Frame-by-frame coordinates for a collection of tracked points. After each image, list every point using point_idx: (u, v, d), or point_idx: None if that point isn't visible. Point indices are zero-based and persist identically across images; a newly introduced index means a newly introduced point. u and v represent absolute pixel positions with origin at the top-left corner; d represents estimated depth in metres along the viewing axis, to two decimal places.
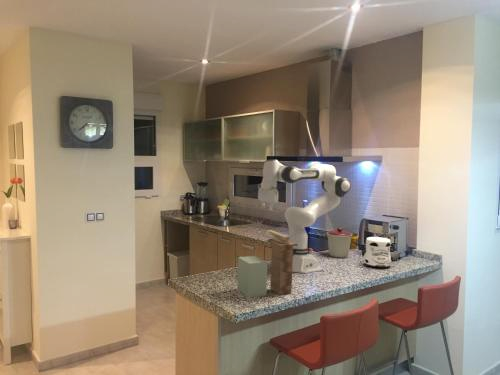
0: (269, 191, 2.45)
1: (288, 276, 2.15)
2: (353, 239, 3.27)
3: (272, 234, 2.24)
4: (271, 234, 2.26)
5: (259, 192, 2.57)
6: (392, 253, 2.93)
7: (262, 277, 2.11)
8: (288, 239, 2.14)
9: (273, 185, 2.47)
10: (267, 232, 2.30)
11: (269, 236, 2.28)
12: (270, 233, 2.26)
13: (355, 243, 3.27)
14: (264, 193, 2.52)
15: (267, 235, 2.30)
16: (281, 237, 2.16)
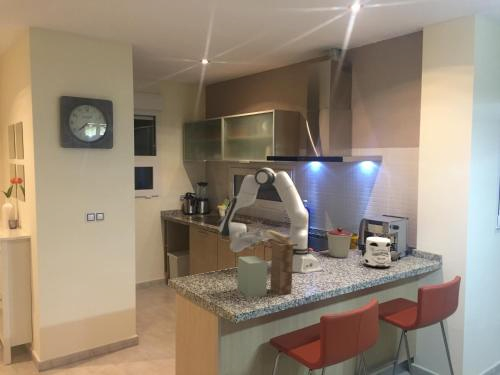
0: (239, 241, 2.56)
1: (288, 276, 2.15)
2: (353, 239, 3.27)
3: (272, 234, 2.24)
4: (271, 234, 2.26)
5: (259, 240, 2.60)
6: (392, 253, 2.93)
7: (262, 277, 2.11)
8: (288, 239, 2.14)
9: None
10: (267, 232, 2.30)
11: (269, 236, 2.28)
12: (270, 233, 2.26)
13: (355, 243, 3.27)
14: None
15: (267, 235, 2.30)
16: (281, 237, 2.16)
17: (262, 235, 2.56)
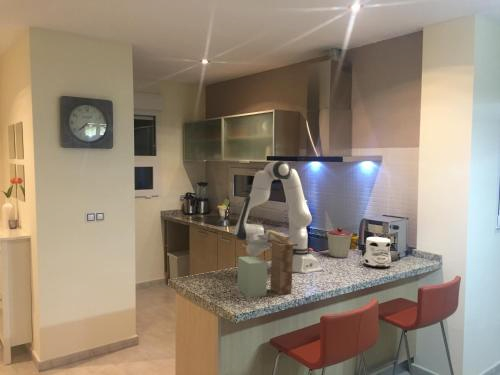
0: (257, 244, 2.34)
1: (288, 276, 2.15)
2: (353, 239, 3.27)
3: (272, 234, 2.24)
4: (271, 234, 2.26)
5: None
6: (391, 253, 2.92)
7: (262, 277, 2.11)
8: (288, 239, 2.14)
9: None
10: (267, 232, 2.30)
11: (269, 236, 2.28)
12: (270, 233, 2.26)
13: (355, 243, 3.27)
14: None
15: None
16: (281, 237, 2.16)
17: None
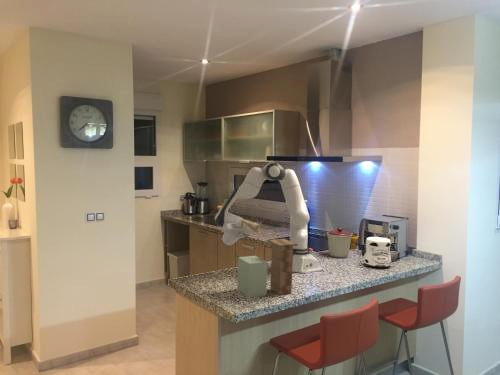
0: (231, 232, 2.42)
1: (288, 276, 2.15)
2: (353, 239, 3.27)
3: (244, 223, 2.33)
4: (243, 223, 2.34)
5: (252, 231, 2.46)
6: (391, 253, 2.92)
7: (262, 277, 2.11)
8: (258, 227, 2.22)
9: None
10: (240, 221, 2.38)
11: (242, 225, 2.36)
12: (243, 222, 2.35)
13: (355, 243, 3.27)
14: (243, 231, 2.44)
15: None
16: (252, 225, 2.24)
17: None
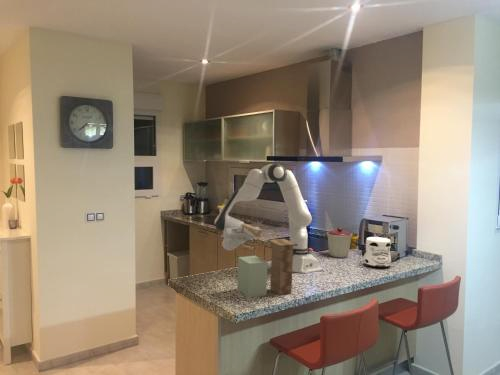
0: (231, 237, 2.28)
1: (288, 276, 2.15)
2: (353, 239, 3.27)
3: (246, 227, 2.19)
4: (245, 227, 2.20)
5: (253, 236, 2.32)
6: (390, 254, 2.91)
7: (262, 277, 2.11)
8: (261, 232, 2.08)
9: None
10: None
11: (243, 230, 2.22)
12: (244, 226, 2.21)
13: (355, 243, 3.27)
14: (244, 235, 2.30)
15: None
16: (254, 230, 2.10)
17: None
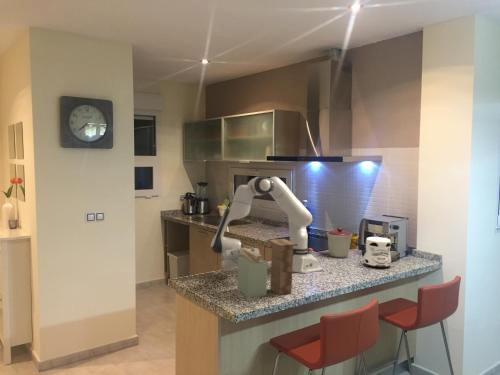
0: (231, 259, 2.29)
1: (288, 276, 2.15)
2: (353, 239, 3.27)
3: (245, 252, 2.20)
4: (244, 252, 2.21)
5: None
6: (390, 254, 2.91)
7: (262, 277, 2.11)
8: (260, 258, 2.09)
9: None
10: (241, 250, 2.25)
11: (242, 254, 2.23)
12: (243, 251, 2.22)
13: (355, 243, 3.27)
14: None
15: (241, 253, 2.25)
16: (253, 256, 2.11)
17: (256, 252, 2.30)
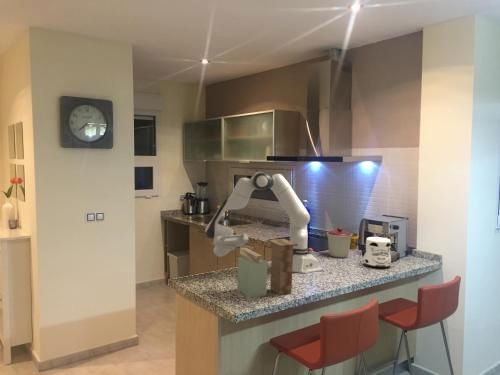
0: (222, 245, 2.42)
1: (288, 276, 2.15)
2: (353, 239, 3.27)
3: (245, 252, 2.20)
4: (244, 252, 2.21)
5: (243, 243, 2.46)
6: (390, 254, 2.90)
7: (262, 277, 2.11)
8: (260, 258, 2.09)
9: None
10: (241, 250, 2.25)
11: (242, 254, 2.23)
12: (243, 251, 2.22)
13: (355, 243, 3.27)
14: (233, 242, 2.44)
15: (241, 253, 2.25)
16: (253, 256, 2.11)
17: (245, 238, 2.43)
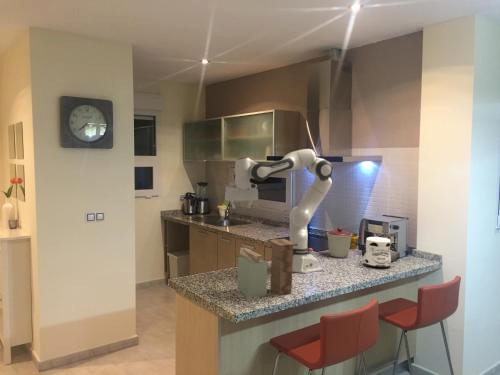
0: None
1: (288, 276, 2.15)
2: (353, 239, 3.27)
3: (245, 252, 2.20)
4: (244, 252, 2.21)
5: None
6: None
7: (262, 277, 2.11)
8: (260, 258, 2.09)
9: (235, 183, 2.45)
10: (241, 250, 2.25)
11: (242, 254, 2.23)
12: (243, 251, 2.22)
13: (355, 243, 3.27)
14: None
15: (241, 253, 2.25)
16: (253, 256, 2.11)
17: None
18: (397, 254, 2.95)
